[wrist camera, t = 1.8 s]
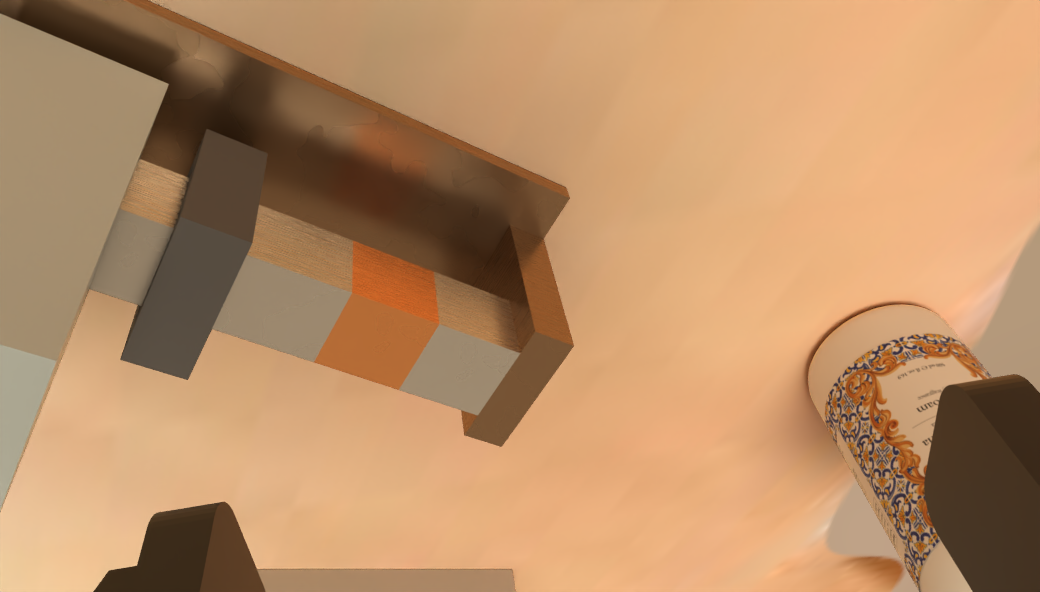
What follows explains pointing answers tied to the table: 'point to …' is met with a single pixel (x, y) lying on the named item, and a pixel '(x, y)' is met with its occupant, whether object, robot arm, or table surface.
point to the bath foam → (894, 421)
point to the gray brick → (199, 257)
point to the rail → (339, 220)
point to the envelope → (387, 580)
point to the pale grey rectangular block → (56, 203)
